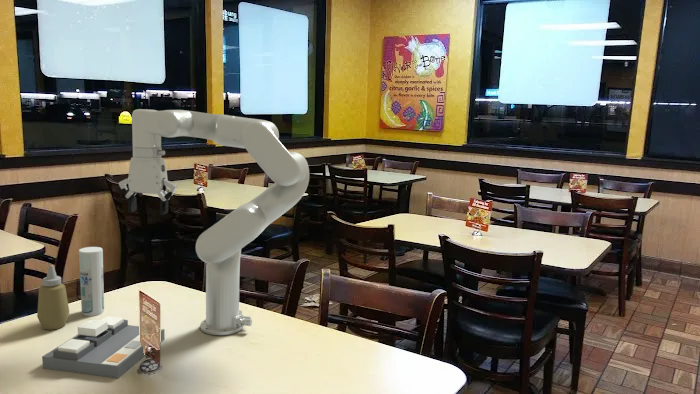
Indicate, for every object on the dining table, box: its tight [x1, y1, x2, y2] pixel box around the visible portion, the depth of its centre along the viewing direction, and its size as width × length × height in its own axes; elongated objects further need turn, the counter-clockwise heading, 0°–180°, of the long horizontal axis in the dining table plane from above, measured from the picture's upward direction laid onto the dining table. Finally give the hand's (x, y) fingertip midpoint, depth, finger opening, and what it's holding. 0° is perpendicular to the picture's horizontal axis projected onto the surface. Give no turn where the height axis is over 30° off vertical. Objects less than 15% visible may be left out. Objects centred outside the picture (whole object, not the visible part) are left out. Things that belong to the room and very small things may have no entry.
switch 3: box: [100, 315, 125, 328], centre depth 146 cm, size 5×5×2 cm
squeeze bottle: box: [36, 264, 70, 331], centre depth 152 cm, size 8×8×18 cm
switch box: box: [41, 319, 166, 379], centre depth 138 cm, size 20×22×5 cm
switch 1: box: [57, 338, 90, 353], centre depth 131 cm, size 5×5×2 cm
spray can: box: [78, 246, 105, 317], centre depth 162 cm, size 6×6×20 cm
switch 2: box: [77, 319, 108, 337], centre depth 138 cm, size 5×5×2 cm
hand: (148, 212), depth 154 cm, fingers open, 9 cm apart
